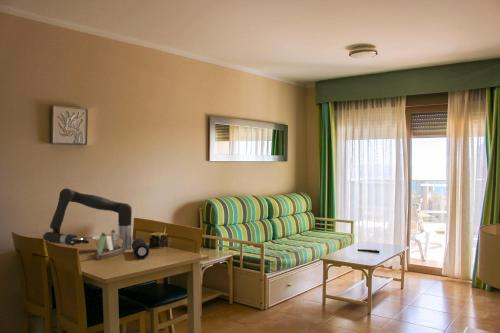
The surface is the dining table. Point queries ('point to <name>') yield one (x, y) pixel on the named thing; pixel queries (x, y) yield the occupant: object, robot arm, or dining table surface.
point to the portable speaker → (140, 248)
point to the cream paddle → (109, 243)
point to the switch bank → (107, 253)
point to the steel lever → (114, 239)
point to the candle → (158, 239)
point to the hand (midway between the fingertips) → (87, 241)
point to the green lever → (101, 243)
